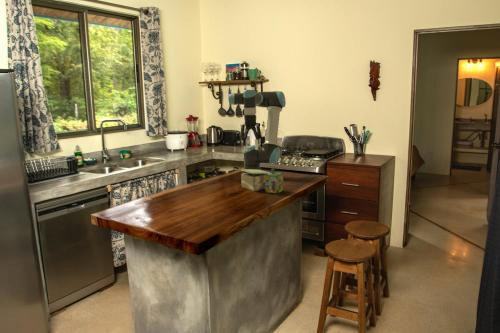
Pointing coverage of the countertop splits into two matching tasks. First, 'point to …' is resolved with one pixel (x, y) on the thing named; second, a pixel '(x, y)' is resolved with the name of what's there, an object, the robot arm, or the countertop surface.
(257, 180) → the crate
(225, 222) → the countertop surface
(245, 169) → the lid
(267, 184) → the chalk box
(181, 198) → the countertop surface
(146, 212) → the countertop surface
